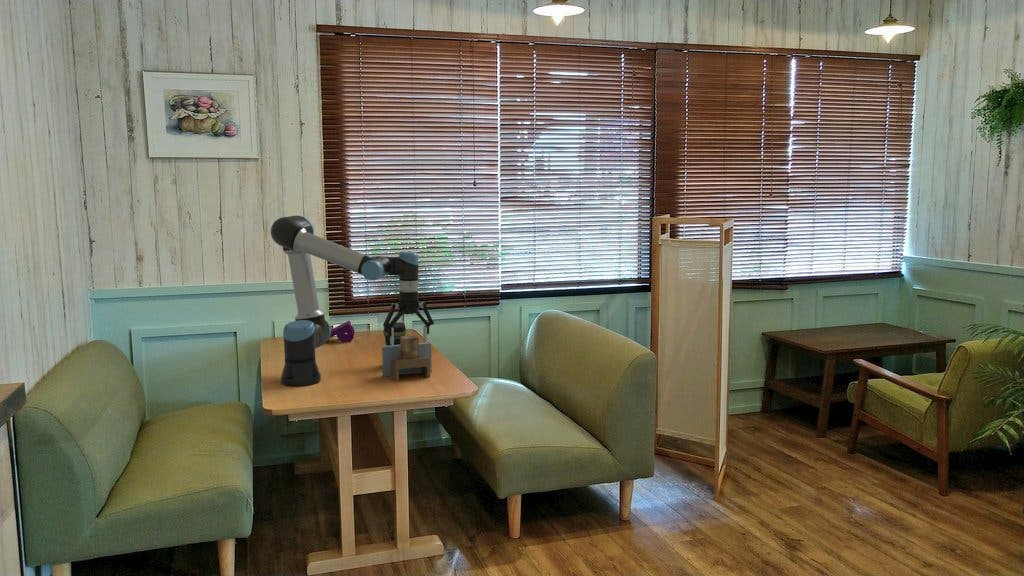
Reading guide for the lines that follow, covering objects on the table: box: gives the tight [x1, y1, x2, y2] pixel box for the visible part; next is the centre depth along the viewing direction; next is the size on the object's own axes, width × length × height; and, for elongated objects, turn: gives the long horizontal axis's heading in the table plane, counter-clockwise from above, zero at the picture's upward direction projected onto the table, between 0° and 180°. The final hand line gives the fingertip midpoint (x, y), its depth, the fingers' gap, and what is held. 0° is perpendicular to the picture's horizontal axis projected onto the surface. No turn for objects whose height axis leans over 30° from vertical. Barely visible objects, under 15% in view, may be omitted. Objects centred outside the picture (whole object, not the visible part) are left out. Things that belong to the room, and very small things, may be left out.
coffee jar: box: [383, 321, 407, 346], centre depth 333 cm, size 10×8×19 cm
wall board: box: [381, 341, 433, 381], centre depth 315 cm, size 20×10×12 cm, turn 112°
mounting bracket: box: [329, 320, 355, 344], centre depth 385 cm, size 9×8×18 cm
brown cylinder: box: [400, 334, 420, 360], centre depth 314 cm, size 6×6×10 cm
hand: (408, 343), depth 314 cm, fingers open, 13 cm apart
